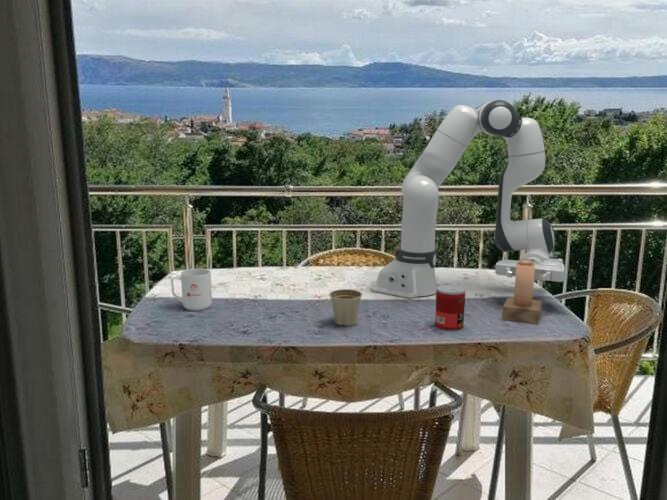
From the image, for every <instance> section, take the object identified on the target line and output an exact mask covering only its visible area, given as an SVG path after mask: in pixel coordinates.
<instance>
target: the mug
mask: <svg viewBox="0 0 667 500" xmlns="http://www.w3.org/2000/svg"><path fill="white" fill-rule="evenodd" d="M211 275H212V273H211V270H209V269H207V268H190V269H185V270H183V271H181V272H180V276H174V277H170V285H171V294H172V296H173V297H174V298H175V299H177V300H178V301H180V302H181V303H182V306H183V308H185V309H186V310H188V311H191V312H192V311H203V310H207V309H209V308H210V306H211V305H212V304H213V303H212V302H213V299H212V294H213V293H212V276H211ZM175 279H177V280H180V283H181V284H180V285H181V297H180V296H179V295H177V294H176V293H175V288H174V280H175Z"/></svg>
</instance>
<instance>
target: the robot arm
mask: <svg viewBox="0 0 667 500" xmlns="http://www.w3.org/2000/svg"><path fill="white" fill-rule="evenodd" d="M479 133H482V134H486V135H488V136H491V137H502V138H503V139H504V140H505V142H506V146H507V154H508V155H507V156H508V162H507V163H508V164H507V167H506V170H505V171H504V172H502V173H501V174H500V178H499V182H498V189H497V203H496V204H497V205H496V218H495V219H496V220H495V229H494V233H493V240H494V244H495V246H496V247H497V248H498V249H499V250H500V251H502V252H504V253H508V252H509V253H510V252H515V251H516V252H517V251H524V250H527V251H526V252H525V254H523V256H522V257H521V258H520V259H529V260H533V263H534V264H535V272H534V282H537V281H540V282H546V281H549V282H550V281H551V282H557V283H558V282H559V283H560V282H561V283H562V282H564V281H565V280H564V279H565V271H566V269H565V264H564V260H563V259H562V258H559V257H554V255H553V253H554V252H553V251H554V249H555V247H556V234H555V229H554V227H553V225H552V224H551V223H550V222H549V221H548V220H547V219H545V218H532V219H524V220H523V219H522V220H511V206H512V197H513V193H514V192H515V191H516V190H518V189H519V188H521V187H522V186H525V185H526V184H529V183H531V182H533V181H534V180H535V179H536V180H537V178H538V177H540V176H541V175H542V173H543V172H544V170H545V167H546V152H545V144H544V138H543V133H542V131H541V127H540V125H539V122H538V121H537V120H535V119H534V118H532V117H521V115H520V114H519V112H518V111H517V110H516V108H515V106H513V105H512V104H511V103H510V102H508V101H506V100H502V99H491V100H489V101H487V102H484V103H482V104H480V105H479V106H477V107H476V108H473V107H470V106H469V105H465V104H464V105H463V104H459V105H456V106H454V107H452V109H451V110H450V111H449V112H448V114H447V115H446V116H445V118H444V119H443V120H442V122H441V123H440V124H439V126H438V127H437V129H436V131H435V133H434V134H433V135H432V137H431V138H430V140H429V141H428V144H427V145H426V147H425V149H424V150H423V152H422V153H421V154H420V156H419V157H418V159H417V160H416V161H415V163H414V164H413V166H412V167H411V169H410V170H409V172H408V173H407V174H406V177H405V178H404V179H403V181H402V184H401V189H400V190H401V194H402V199H403V200H402V216H401V233H400V234H401V235H400V236H401V238H400V246H398V247H397V248H396V250H395V251H394V255H393V256H394V259H393V260H391V262H389V263H387V264H386V265H385V266H383V267H382V268H381V269H380V271H379V273H378V276H377V280H376V281H374V282H372V283H371V285H370V291H372V292H375V293H380V294H386V295H392V296H397V297H401V298H402V297H403V298H407V299H413V298H418V297H426V296H432V295H435V294H436V289H437V287H438V284H437V280H436V268H435V267H436V263H437V250H436V248H435V247H436V246H435V245H436V227H437V225H436V224H437V216H438V207H439V204H438V203H439V188H440V186H441V185H442V184H443V182H444V181H445V180H446V178H447V177H448V176H449V175H450V174H451V172H452V171H453V170H454V169H455V168H456V166H457V163H458V162H459V161H460V159H461V158H462V156H463V154H464V153H465V151H466V149H467V148H468V146H469V145H470V143H471V141H472V140H473V139H474V137H475V136H476V135H478V134H479ZM518 262H519V260H514V259H502V260H499V261H497V262H496V264H495V269H494V271H495V272H494V273H495V274H496V275H497V276H504V277H505V276H506V278H515V277H516V263H518Z"/></svg>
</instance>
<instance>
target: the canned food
mask: <svg viewBox="0 0 667 500" xmlns="http://www.w3.org/2000/svg"><path fill="white" fill-rule="evenodd" d="M435 294H436V295H435V317H434V318H435V322H434V323H435V326H436V327H438V328H439V329H442V330H445V331H446V330H448V331H456V330H461V329H462V328H463V327H464V324H465V305H466V289H465V287H463V286H461V285H455V284H441V285H437V289H436V293H435Z"/></svg>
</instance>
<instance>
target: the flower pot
mask: <svg viewBox="0 0 667 500" xmlns="http://www.w3.org/2000/svg"><path fill="white" fill-rule="evenodd" d="M328 296H329V298H330V300H331V303H332V311H333V318H334V323H335V324H336V325H338V326H345V327H349V326H350V327H351V326H354V325H356V324H357V321H358V316H359V315H358V313H359V306H360V302H361V299H362V297H363V293H362V292H361V291H359V290H356V289H349V288H343V289H336V290H333V291H330V292H329V293H328Z"/></svg>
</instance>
